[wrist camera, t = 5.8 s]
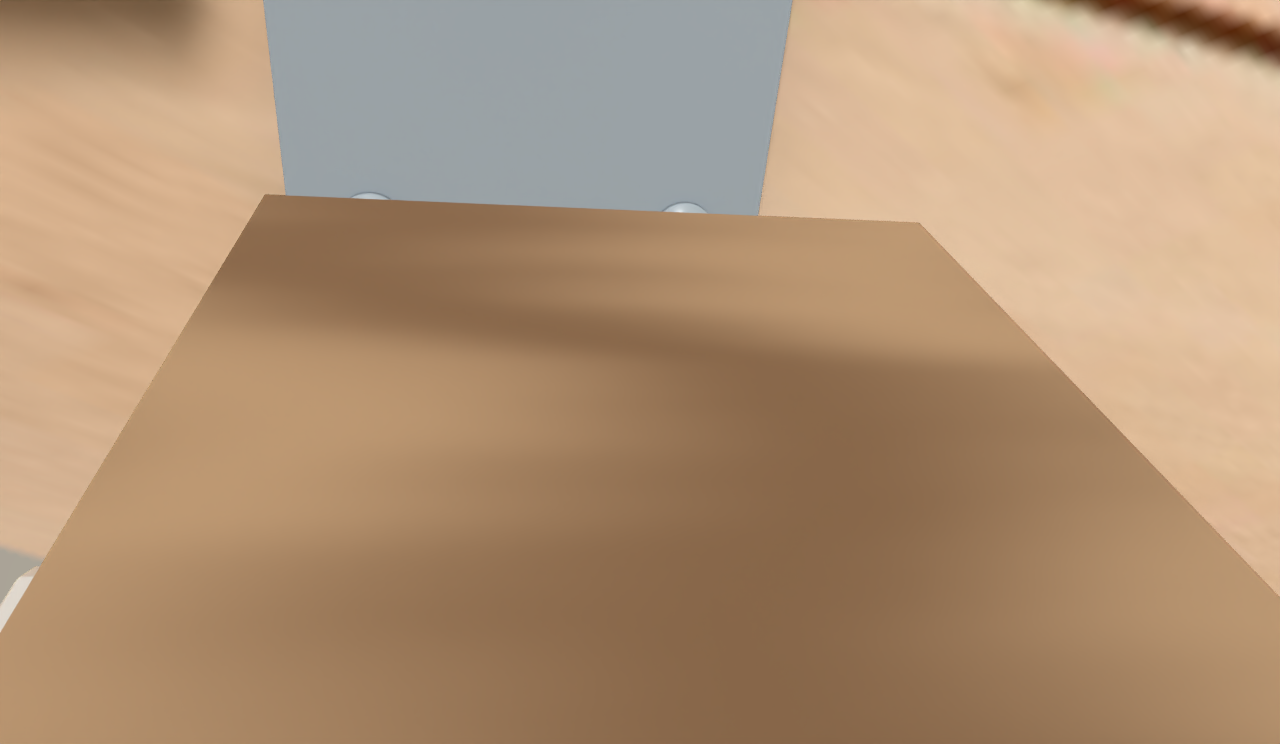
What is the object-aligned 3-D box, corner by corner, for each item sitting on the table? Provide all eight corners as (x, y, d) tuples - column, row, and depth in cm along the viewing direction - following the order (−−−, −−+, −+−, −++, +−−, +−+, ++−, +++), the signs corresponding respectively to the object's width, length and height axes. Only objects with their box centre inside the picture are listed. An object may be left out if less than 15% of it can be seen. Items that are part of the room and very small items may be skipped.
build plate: (303, 274, 25) (295, 295, 24) (243, -261, 19) (230, -264, 18) (736, 282, 27) (746, 302, 26) (811, -202, 21) (827, -202, 20)
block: (321, 671, 11) (168, 1399, 6) (264, 194, 8) (-140, 859, 3) (805, 657, 12) (1020, 1281, 7) (918, 222, 9) (1448, 773, 4)
